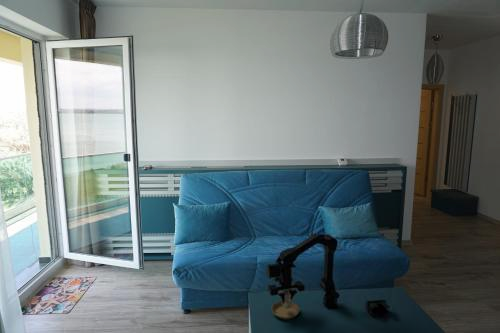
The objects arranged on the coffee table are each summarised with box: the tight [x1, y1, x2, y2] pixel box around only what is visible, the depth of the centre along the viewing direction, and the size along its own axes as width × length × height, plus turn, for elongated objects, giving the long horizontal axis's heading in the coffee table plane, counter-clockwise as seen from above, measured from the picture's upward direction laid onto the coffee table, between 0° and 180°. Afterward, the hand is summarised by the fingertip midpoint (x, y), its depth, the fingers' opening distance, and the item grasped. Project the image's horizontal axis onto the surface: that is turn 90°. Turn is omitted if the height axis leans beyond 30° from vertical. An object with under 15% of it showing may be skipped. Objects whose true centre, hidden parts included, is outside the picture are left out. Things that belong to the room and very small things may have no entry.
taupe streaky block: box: [282, 290, 292, 309], centre depth 174 cm, size 3×5×8 cm, turn 15°
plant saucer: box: [271, 300, 301, 320], centre depth 175 cm, size 15×15×3 cm
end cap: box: [364, 298, 390, 318], centre depth 174 cm, size 10×7×7 cm
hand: (286, 303), depth 175 cm, fingers closed on taupe streaky block, 3 cm apart
